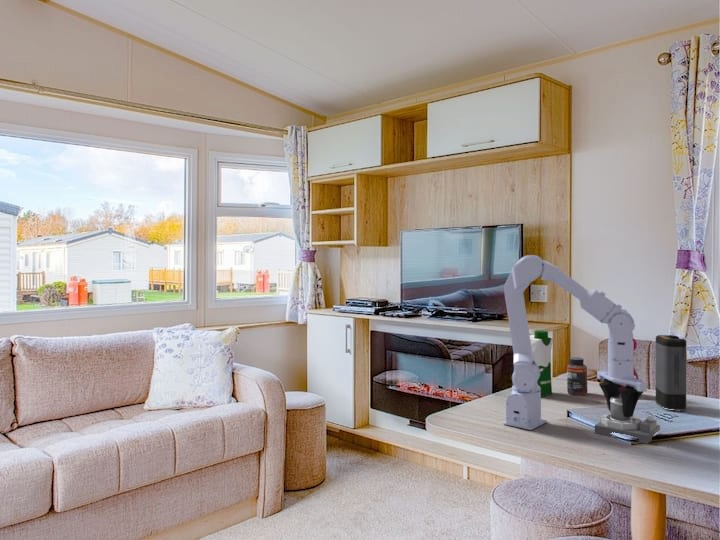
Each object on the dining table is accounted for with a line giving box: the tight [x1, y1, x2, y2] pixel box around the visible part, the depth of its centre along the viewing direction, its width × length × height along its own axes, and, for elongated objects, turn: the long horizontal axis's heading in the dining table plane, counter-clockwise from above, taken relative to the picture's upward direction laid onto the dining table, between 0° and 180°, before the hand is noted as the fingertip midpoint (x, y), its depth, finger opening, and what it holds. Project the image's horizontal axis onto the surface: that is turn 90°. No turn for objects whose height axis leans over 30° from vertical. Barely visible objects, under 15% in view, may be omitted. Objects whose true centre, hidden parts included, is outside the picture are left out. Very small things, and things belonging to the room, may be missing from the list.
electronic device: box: [655, 334, 687, 412], centre depth 158 cm, size 9×6×20 cm, turn 168°
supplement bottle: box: [566, 356, 588, 396], centre depth 174 cm, size 6×6×11 cm
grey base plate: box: [594, 413, 661, 445], centre depth 136 cm, size 10×12×4 cm
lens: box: [609, 396, 631, 423], centre depth 137 cm, size 5×5×6 cm
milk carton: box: [530, 330, 554, 398], centre depth 175 cm, size 9×9×20 cm
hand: (620, 413), depth 137 cm, fingers closed on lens, 4 cm apart
